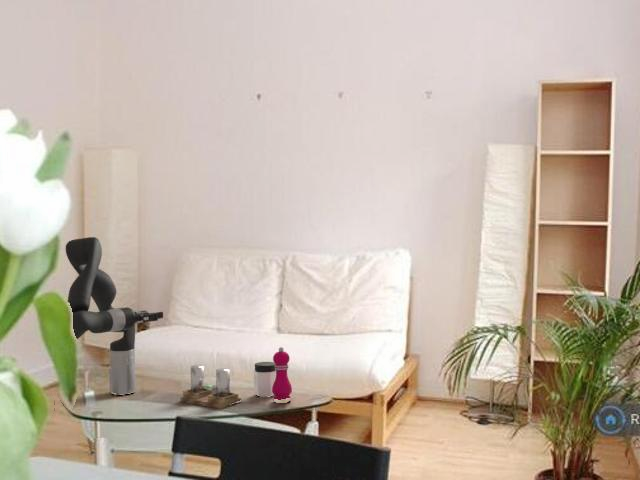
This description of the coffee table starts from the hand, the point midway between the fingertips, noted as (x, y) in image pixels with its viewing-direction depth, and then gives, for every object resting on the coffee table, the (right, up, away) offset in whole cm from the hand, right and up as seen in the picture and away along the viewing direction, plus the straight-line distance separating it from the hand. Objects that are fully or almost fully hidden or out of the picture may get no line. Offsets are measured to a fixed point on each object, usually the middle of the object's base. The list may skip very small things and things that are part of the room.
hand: (154, 314), depth 254 cm
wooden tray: (+19, -33, +9) cm, 39 cm away
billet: (+13, -32, +13) cm, 37 cm away
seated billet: (+24, -32, +6) cm, 40 cm away
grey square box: (+16, -33, +22) cm, 43 cm away
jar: (+38, -33, +19) cm, 54 cm away
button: (+16, -33, +22) cm, 43 cm away
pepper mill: (+45, -33, +8) cm, 56 cm away
